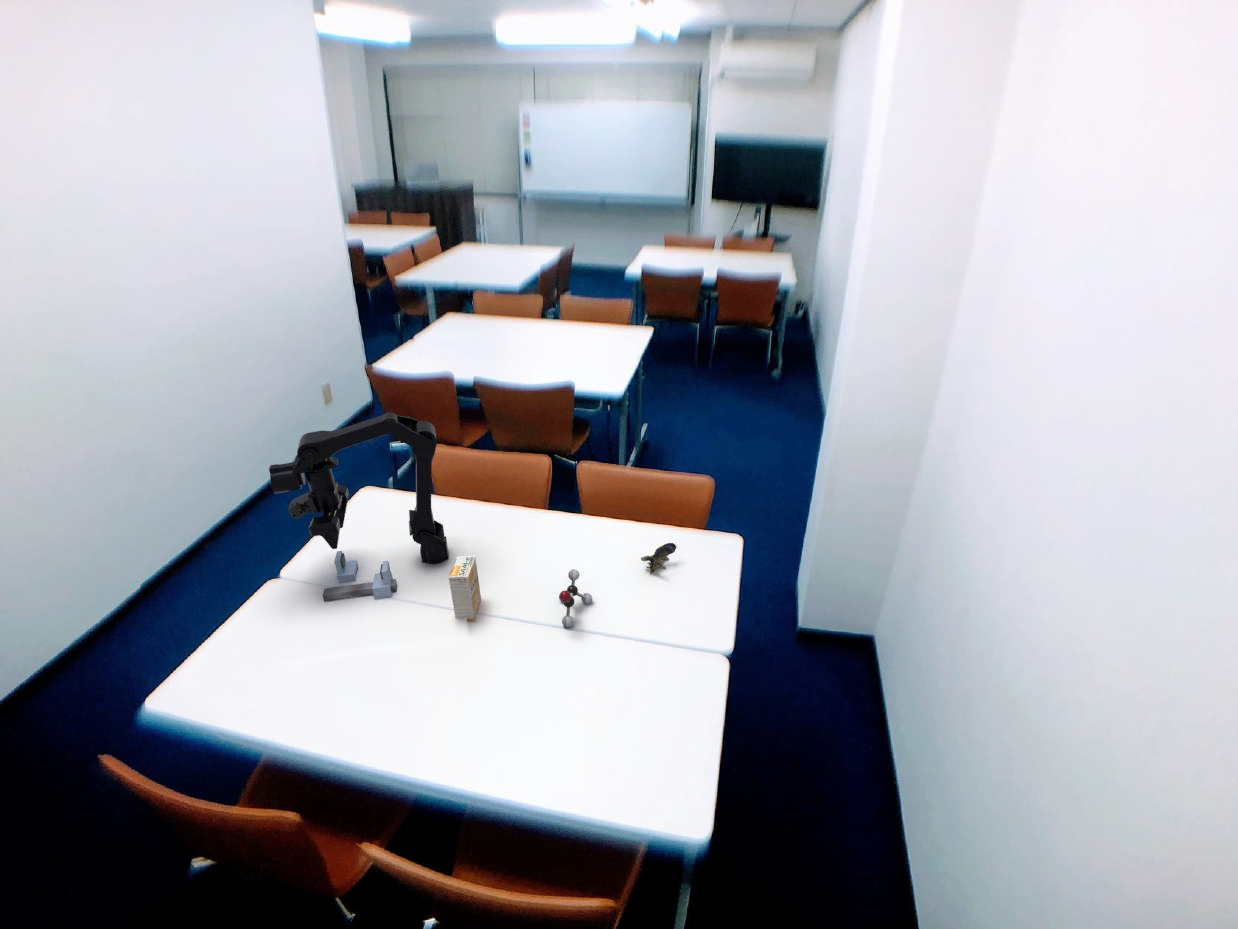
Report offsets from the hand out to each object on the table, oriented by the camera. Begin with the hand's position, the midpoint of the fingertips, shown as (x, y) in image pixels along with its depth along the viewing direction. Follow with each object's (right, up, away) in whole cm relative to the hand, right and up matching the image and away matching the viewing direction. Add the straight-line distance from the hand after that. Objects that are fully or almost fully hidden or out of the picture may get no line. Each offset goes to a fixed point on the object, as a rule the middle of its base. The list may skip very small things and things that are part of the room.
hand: (337, 538), depth 172 cm
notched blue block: (+1, -11, +6) cm, 12 cm away
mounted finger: (+12, -13, -1) cm, 18 cm away
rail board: (+6, -14, -1) cm, 16 cm away
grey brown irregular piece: (+81, -8, +8) cm, 82 cm away
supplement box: (+34, -17, -6) cm, 39 cm away
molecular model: (+59, -18, -8) cm, 62 cm away
